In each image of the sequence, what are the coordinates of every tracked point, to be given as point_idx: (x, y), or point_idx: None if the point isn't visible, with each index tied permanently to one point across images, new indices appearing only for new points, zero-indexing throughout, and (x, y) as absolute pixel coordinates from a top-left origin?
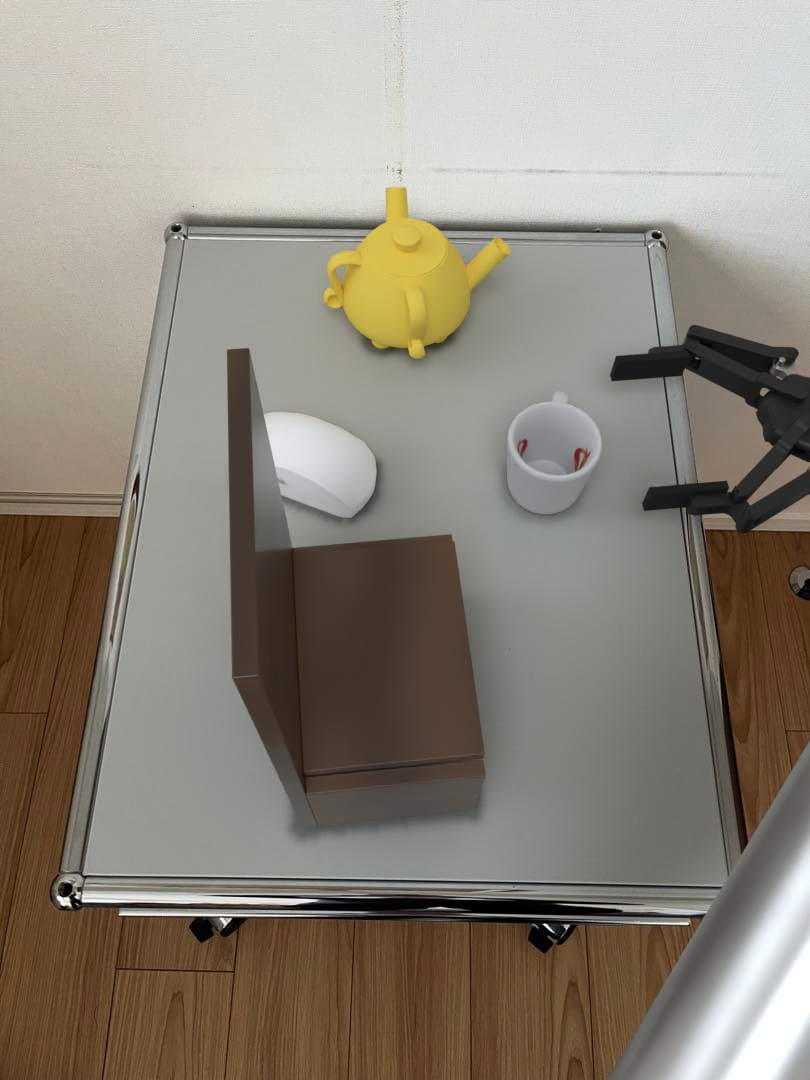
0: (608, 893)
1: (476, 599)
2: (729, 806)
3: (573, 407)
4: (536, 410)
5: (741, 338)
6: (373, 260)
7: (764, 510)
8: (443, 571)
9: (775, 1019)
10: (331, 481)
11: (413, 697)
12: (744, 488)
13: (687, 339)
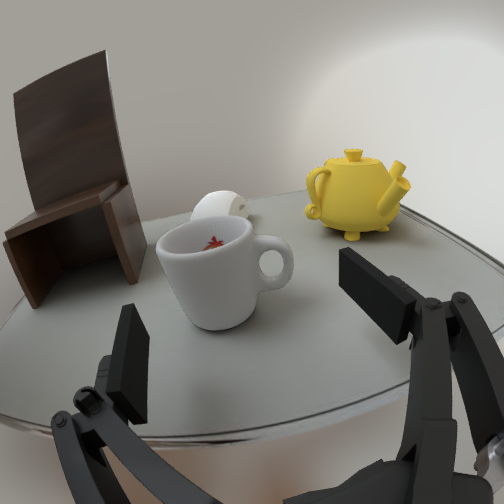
0: None
1: (129, 295)
2: None
3: (245, 232)
4: (240, 222)
5: (501, 355)
6: (333, 159)
7: (59, 442)
8: (83, 198)
9: None
10: (195, 211)
11: (38, 213)
12: (103, 419)
13: (443, 303)
